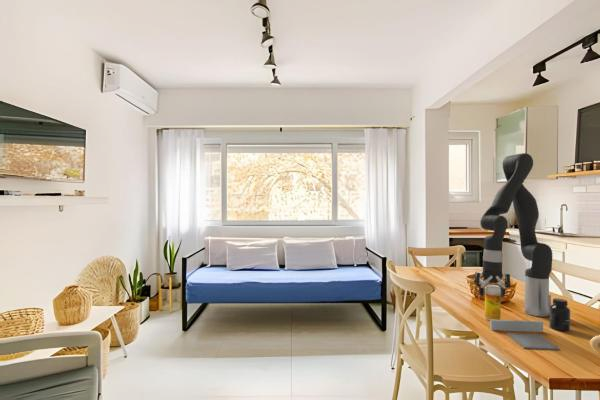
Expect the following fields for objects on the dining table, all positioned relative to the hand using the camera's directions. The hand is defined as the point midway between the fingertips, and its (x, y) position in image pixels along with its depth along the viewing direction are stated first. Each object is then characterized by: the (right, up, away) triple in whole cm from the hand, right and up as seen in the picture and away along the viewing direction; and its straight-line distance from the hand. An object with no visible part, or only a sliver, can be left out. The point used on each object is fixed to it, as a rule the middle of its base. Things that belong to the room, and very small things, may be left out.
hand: (491, 296), depth 152 cm
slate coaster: (+2, -11, -23) cm, 26 cm away
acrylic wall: (+3, -11, -12) cm, 17 cm away
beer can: (0, -11, 0) cm, 11 cm away
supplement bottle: (+22, -11, -10) cm, 27 cm away
